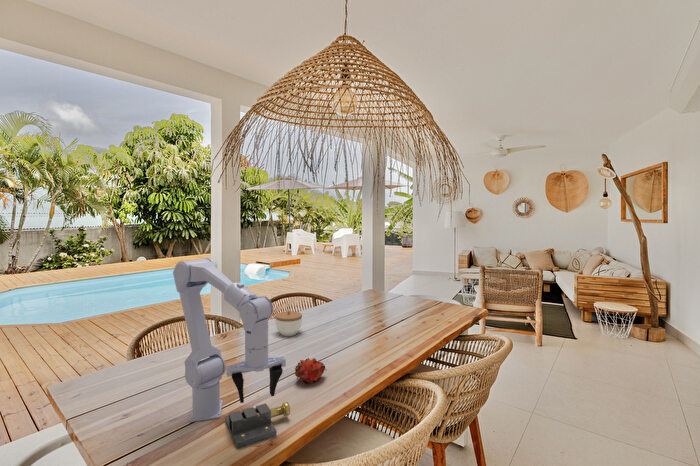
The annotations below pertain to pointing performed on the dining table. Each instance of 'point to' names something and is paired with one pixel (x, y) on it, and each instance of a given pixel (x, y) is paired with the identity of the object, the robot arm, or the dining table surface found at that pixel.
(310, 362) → the dragon fruit
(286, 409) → the pin
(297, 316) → the lidded bowl
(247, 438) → the hinge leaves
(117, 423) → the dining table surface
